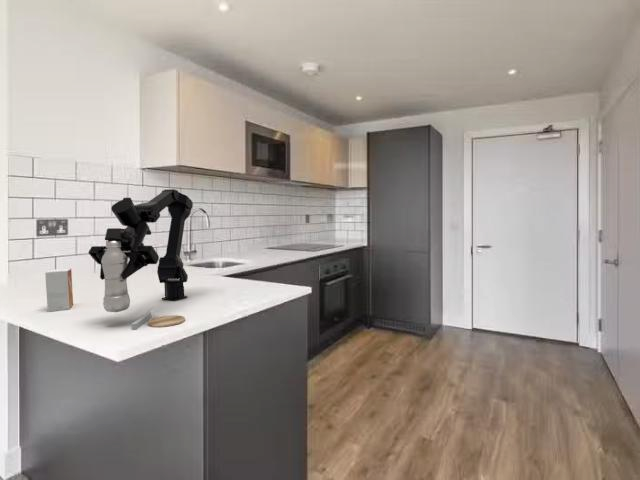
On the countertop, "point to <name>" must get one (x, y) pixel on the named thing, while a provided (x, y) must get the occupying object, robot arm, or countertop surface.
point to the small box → (59, 289)
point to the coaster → (166, 321)
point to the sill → (141, 321)
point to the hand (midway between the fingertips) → (112, 278)
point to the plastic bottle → (115, 278)
